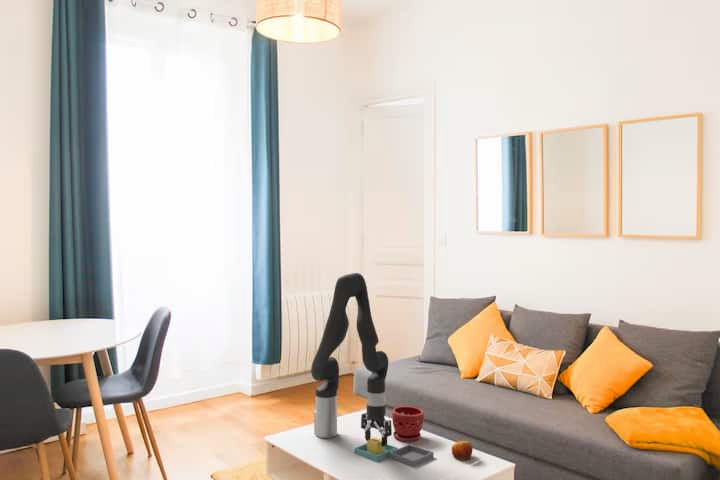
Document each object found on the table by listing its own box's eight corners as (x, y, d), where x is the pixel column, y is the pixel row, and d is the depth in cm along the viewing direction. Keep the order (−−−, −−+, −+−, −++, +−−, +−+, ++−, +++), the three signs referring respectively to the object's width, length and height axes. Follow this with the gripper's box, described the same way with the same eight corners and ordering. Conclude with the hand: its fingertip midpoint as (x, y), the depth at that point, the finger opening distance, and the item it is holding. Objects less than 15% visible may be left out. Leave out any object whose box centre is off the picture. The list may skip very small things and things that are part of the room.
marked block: (367, 453, 238) (367, 440, 238) (375, 449, 242) (375, 436, 242) (376, 456, 235) (376, 443, 235) (384, 452, 238) (384, 440, 238)
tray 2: (389, 458, 233) (388, 452, 233) (409, 450, 242) (409, 444, 242) (413, 467, 225) (413, 461, 225) (433, 458, 234) (433, 452, 234)
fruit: (463, 461, 227) (456, 440, 230) (452, 466, 233) (446, 445, 236) (480, 457, 230) (473, 436, 234) (469, 462, 237) (462, 441, 240)
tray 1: (354, 454, 238) (354, 448, 238) (375, 445, 247) (375, 439, 247) (376, 462, 230) (376, 456, 230) (397, 453, 238) (397, 447, 238)
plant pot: (407, 446, 246) (406, 417, 246) (386, 437, 257) (386, 409, 256) (429, 439, 254) (429, 411, 254) (408, 430, 265) (408, 403, 264)
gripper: (356, 400, 240) (356, 441, 241) (383, 408, 230) (383, 450, 231) (369, 396, 245) (369, 436, 246) (396, 404, 236) (395, 445, 236)
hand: (376, 443), depth 238 cm, fingers open, 8 cm apart
